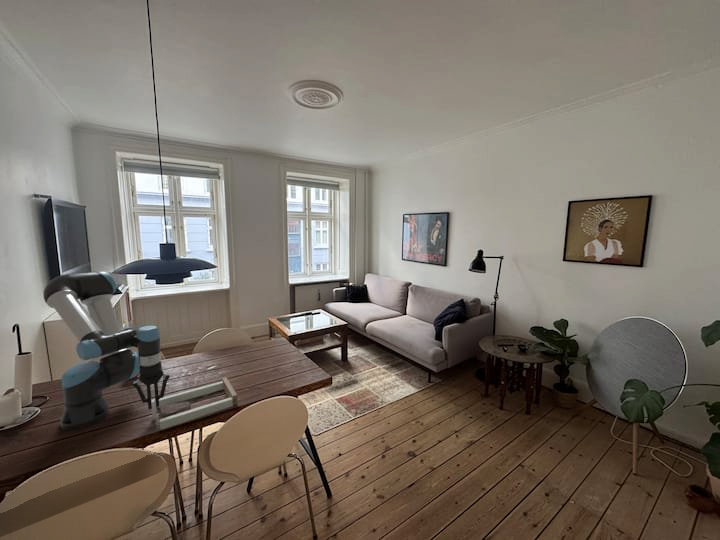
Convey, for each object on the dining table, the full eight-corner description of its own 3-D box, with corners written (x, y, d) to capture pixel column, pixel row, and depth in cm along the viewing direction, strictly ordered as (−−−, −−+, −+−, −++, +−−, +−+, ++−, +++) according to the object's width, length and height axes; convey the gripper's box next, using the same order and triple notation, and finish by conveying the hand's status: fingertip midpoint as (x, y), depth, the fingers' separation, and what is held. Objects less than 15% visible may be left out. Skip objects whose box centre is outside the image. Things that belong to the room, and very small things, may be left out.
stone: (188, 405, 135) (188, 396, 134) (193, 415, 128) (192, 405, 128) (158, 415, 127) (157, 405, 127) (161, 426, 121) (160, 416, 120)
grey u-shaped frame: (160, 429, 118) (159, 418, 117) (157, 406, 134) (156, 396, 133) (237, 404, 136) (236, 394, 136) (226, 386, 152) (226, 377, 151)
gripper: (130, 370, 115) (135, 425, 118) (169, 362, 123) (173, 413, 126) (130, 363, 121) (135, 415, 124) (168, 356, 129) (171, 405, 132)
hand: (154, 414), depth 125 cm, fingers closed
